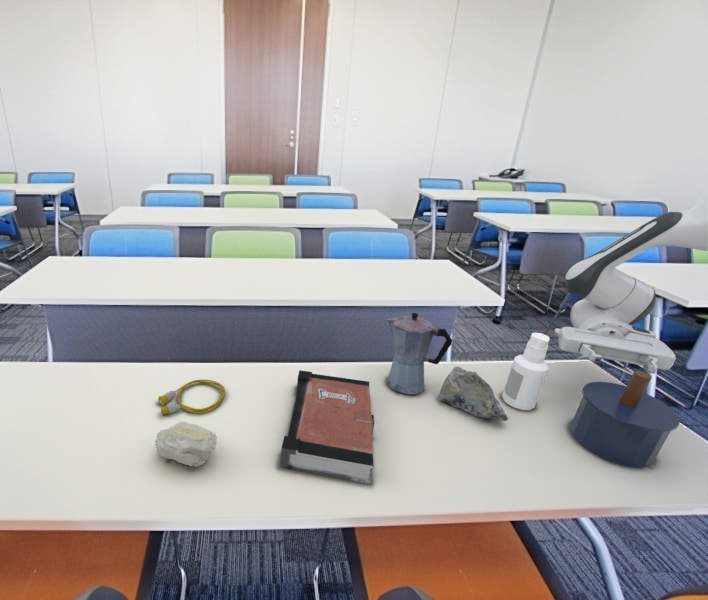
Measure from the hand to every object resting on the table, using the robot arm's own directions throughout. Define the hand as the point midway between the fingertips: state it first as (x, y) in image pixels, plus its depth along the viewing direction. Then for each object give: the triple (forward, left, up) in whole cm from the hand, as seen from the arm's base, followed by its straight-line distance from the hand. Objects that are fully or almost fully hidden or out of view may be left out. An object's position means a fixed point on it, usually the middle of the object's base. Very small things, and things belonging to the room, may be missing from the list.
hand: (623, 364), depth 85 cm
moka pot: (+41, +6, -15) cm, 44 cm away
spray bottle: (+16, +1, -15) cm, 22 cm away
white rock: (+78, +50, -15) cm, 94 cm away
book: (+54, +30, -15) cm, 64 cm away
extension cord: (+87, +34, -15) cm, 95 cm away
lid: (0, +8, -5) cm, 10 cm away
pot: (0, +8, -15) cm, 17 cm away
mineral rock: (+27, +10, -15) cm, 32 cm away
